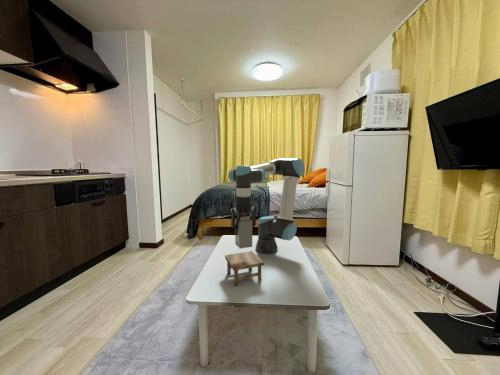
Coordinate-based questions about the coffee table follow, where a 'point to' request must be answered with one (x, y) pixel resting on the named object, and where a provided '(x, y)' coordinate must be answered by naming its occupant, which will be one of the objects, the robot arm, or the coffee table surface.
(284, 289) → the coffee table surface
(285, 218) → the robot arm
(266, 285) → the coffee table surface
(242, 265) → the stool
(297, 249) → the coffee table surface
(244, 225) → the perfume bottle
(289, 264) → the coffee table surface
